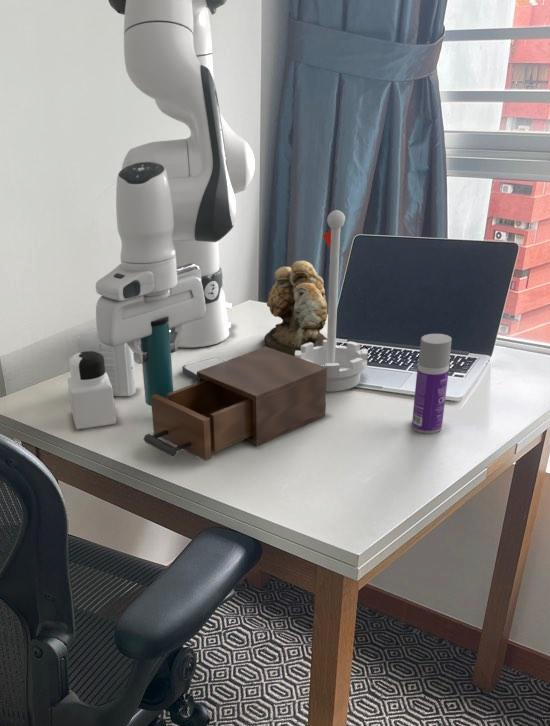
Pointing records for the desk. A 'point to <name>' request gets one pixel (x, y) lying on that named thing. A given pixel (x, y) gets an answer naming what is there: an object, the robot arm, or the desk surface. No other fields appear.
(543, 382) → the desk surface
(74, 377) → the medicine bottle
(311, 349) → the flag stand
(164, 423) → the drawer
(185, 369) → the phone case
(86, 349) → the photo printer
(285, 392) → the cabinet
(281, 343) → the owl figurine
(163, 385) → the tin
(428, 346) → the container
